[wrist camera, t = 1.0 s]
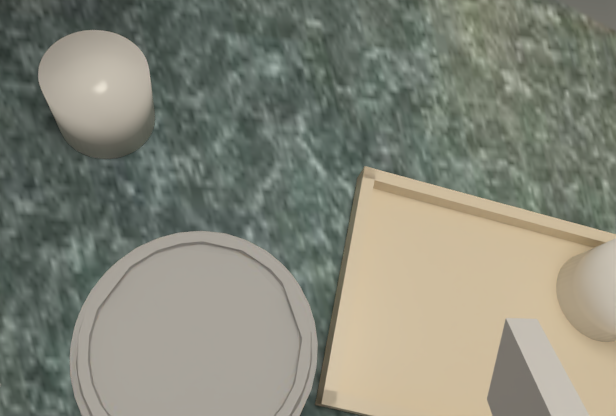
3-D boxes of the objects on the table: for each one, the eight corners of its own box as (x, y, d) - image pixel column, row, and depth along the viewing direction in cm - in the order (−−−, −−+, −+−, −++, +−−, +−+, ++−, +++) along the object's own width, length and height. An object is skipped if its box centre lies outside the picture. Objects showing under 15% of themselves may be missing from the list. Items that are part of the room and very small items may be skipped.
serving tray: (357, 177, 38) (364, 166, 36) (648, 255, 40) (668, 248, 38) (315, 404, 32) (321, 403, 30) (658, 482, 34) (681, 486, 32)
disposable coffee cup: (264, 474, 30) (301, 504, 19) (88, 443, 29) (21, 458, 18) (294, 304, 34) (340, 248, 23) (138, 272, 33) (108, 197, 22)
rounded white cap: (78, 68, 37) (61, 17, 32) (166, 92, 38) (162, 46, 33) (43, 144, 35) (20, 102, 30) (138, 169, 35) (130, 131, 31)
